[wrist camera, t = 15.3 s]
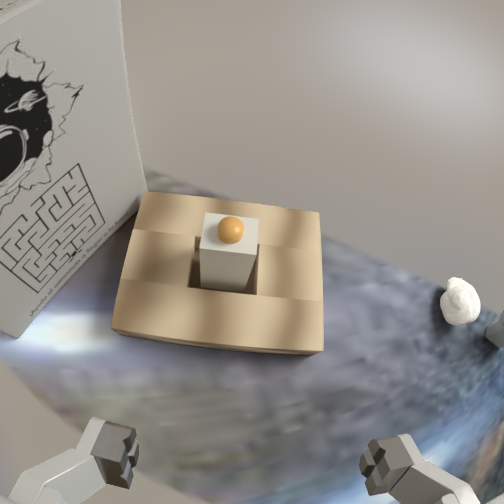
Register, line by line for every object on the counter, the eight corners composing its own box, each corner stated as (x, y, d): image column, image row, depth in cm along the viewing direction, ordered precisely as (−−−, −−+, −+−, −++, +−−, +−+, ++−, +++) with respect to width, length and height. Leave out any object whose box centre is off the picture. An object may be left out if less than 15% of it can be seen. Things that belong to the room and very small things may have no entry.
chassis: (310, 227, 33) (318, 212, 31) (312, 355, 27) (323, 350, 24) (148, 207, 32) (144, 191, 29) (119, 334, 25) (110, 327, 23)
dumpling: (459, 337, 30) (480, 328, 26) (431, 324, 30) (453, 314, 27) (463, 289, 33) (482, 277, 30) (437, 274, 33) (456, 261, 30)
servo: (245, 263, 30) (260, 213, 22) (243, 292, 28) (258, 249, 21) (204, 258, 29) (205, 206, 22) (200, 287, 28) (199, 242, 20)
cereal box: (111, 169, 33) (71, -27, 11) (151, 200, 32) (121, -32, 10) (-11, 293, 24) (-153, 153, 2) (18, 340, 23) (-171, 209, 1)
